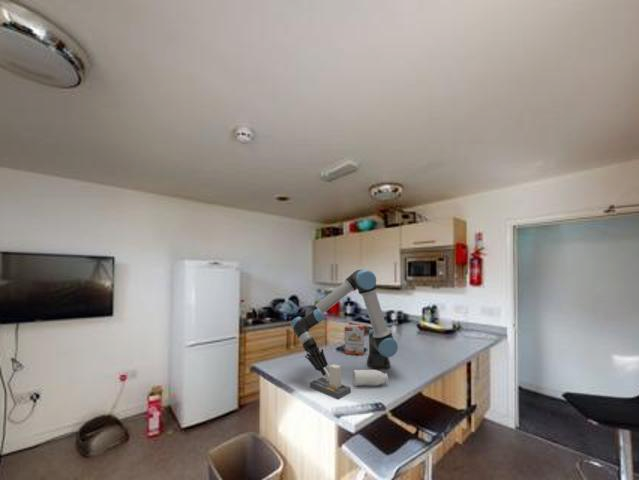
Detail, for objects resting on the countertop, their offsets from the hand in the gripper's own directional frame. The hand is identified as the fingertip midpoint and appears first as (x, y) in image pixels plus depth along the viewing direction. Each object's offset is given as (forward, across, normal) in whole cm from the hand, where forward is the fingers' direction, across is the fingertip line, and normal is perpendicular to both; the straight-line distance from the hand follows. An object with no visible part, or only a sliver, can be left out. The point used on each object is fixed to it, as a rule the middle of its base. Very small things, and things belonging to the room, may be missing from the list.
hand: (329, 380), depth 145 cm
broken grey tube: (+12, -20, +4) cm, 24 cm away
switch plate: (+4, 0, -4) cm, 5 cm away
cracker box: (-16, -59, -23) cm, 66 cm away
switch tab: (+4, 0, +1) cm, 4 cm away
